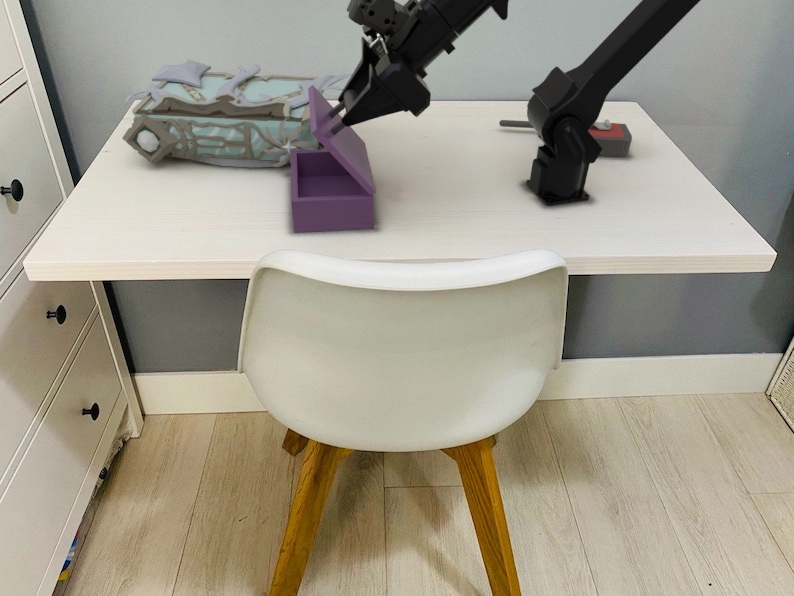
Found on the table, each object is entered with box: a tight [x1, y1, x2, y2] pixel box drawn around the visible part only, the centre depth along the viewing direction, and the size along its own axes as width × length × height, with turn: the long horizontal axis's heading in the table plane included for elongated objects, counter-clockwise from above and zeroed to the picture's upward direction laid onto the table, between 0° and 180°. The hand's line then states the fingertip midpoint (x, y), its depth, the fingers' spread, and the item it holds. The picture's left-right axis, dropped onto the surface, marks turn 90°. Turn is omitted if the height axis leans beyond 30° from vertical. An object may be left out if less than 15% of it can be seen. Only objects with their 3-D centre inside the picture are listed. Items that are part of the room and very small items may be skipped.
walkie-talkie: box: [498, 118, 633, 157], centre depth 100 cm, size 9×4×20 cm
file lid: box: [308, 85, 377, 196], centre depth 79 cm, size 10×14×5 cm
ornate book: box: [121, 58, 353, 176], centre depth 96 cm, size 23×10×30 cm
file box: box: [290, 149, 375, 233], centre depth 83 cm, size 10×14×4 cm
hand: (342, 112), depth 78 cm, fingers closed on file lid, 6 cm apart
